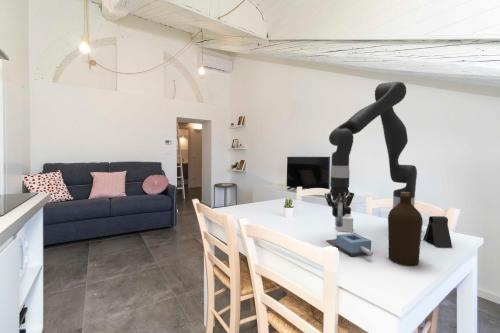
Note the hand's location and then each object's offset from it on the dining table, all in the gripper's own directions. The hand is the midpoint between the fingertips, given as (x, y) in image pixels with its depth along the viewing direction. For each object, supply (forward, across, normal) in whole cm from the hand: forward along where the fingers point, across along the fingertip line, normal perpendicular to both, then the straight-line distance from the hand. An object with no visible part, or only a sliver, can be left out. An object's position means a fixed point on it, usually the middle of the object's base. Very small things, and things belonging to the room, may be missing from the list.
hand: (338, 216), depth 106 cm
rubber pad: (+12, 0, 0) cm, 12 cm away
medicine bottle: (+12, +15, +16) cm, 25 cm away
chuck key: (+4, 0, 0) cm, 4 cm away
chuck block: (+12, 0, -11) cm, 17 cm away
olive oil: (+12, +13, -21) cm, 27 cm away
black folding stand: (+12, +41, -12) cm, 44 cm away
